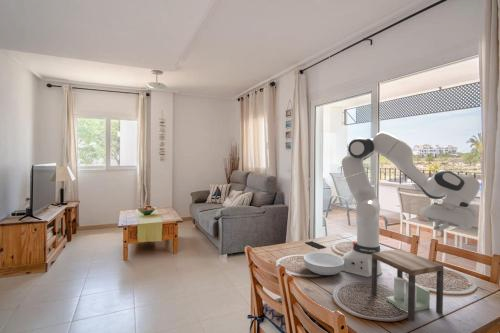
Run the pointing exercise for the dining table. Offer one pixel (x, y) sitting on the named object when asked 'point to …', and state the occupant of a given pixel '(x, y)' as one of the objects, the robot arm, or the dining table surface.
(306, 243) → the smartphone
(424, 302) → the glasses tray
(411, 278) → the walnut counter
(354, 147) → the robot arm
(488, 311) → the dining table surface
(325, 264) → the serving bowl
